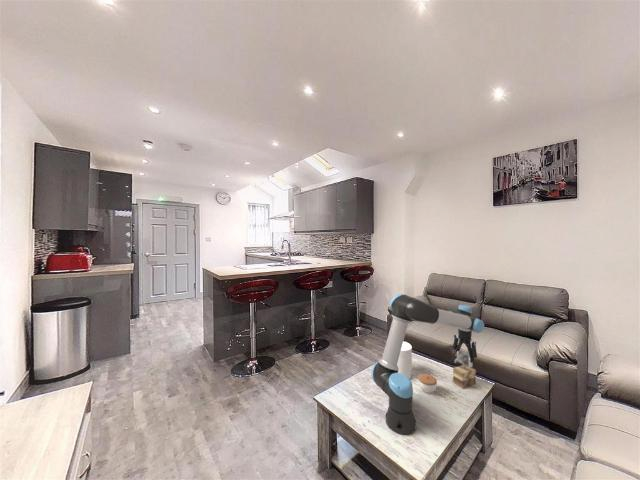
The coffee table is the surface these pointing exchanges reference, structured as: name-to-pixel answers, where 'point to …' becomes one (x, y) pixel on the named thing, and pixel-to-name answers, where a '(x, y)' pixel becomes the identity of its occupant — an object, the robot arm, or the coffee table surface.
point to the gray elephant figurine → (462, 358)
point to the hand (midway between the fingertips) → (464, 363)
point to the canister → (405, 360)
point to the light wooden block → (464, 372)
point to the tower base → (464, 382)
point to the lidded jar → (427, 383)
